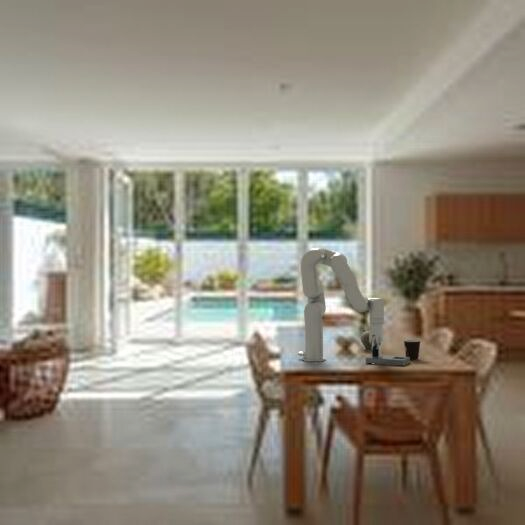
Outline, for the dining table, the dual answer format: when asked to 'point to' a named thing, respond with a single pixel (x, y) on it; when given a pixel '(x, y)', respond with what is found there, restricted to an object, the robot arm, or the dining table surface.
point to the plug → (379, 351)
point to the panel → (388, 360)
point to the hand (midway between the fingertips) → (376, 355)
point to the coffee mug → (412, 348)
